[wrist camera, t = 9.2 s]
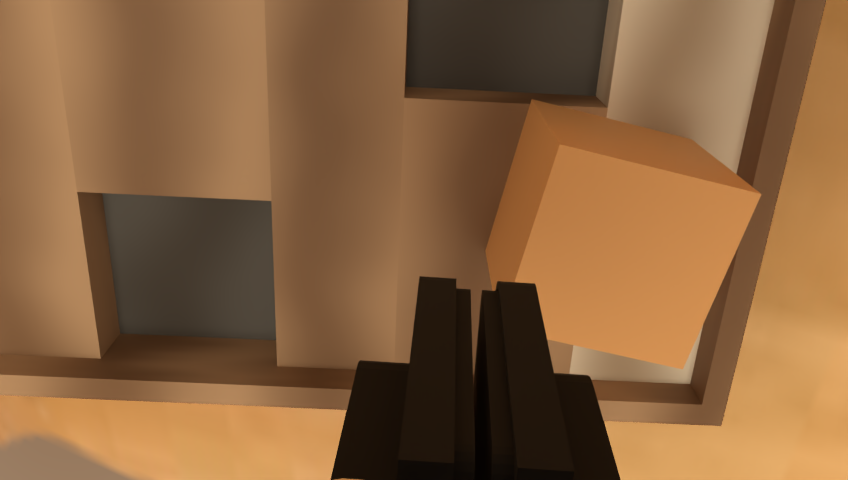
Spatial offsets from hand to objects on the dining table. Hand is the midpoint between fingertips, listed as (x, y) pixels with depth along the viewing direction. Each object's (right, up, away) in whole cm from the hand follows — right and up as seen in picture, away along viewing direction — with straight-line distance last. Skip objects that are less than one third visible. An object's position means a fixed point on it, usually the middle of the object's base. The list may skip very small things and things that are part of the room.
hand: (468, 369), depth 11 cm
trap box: (-3, +5, +13) cm, 15 cm away
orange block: (+4, +3, +12) cm, 13 cm away
